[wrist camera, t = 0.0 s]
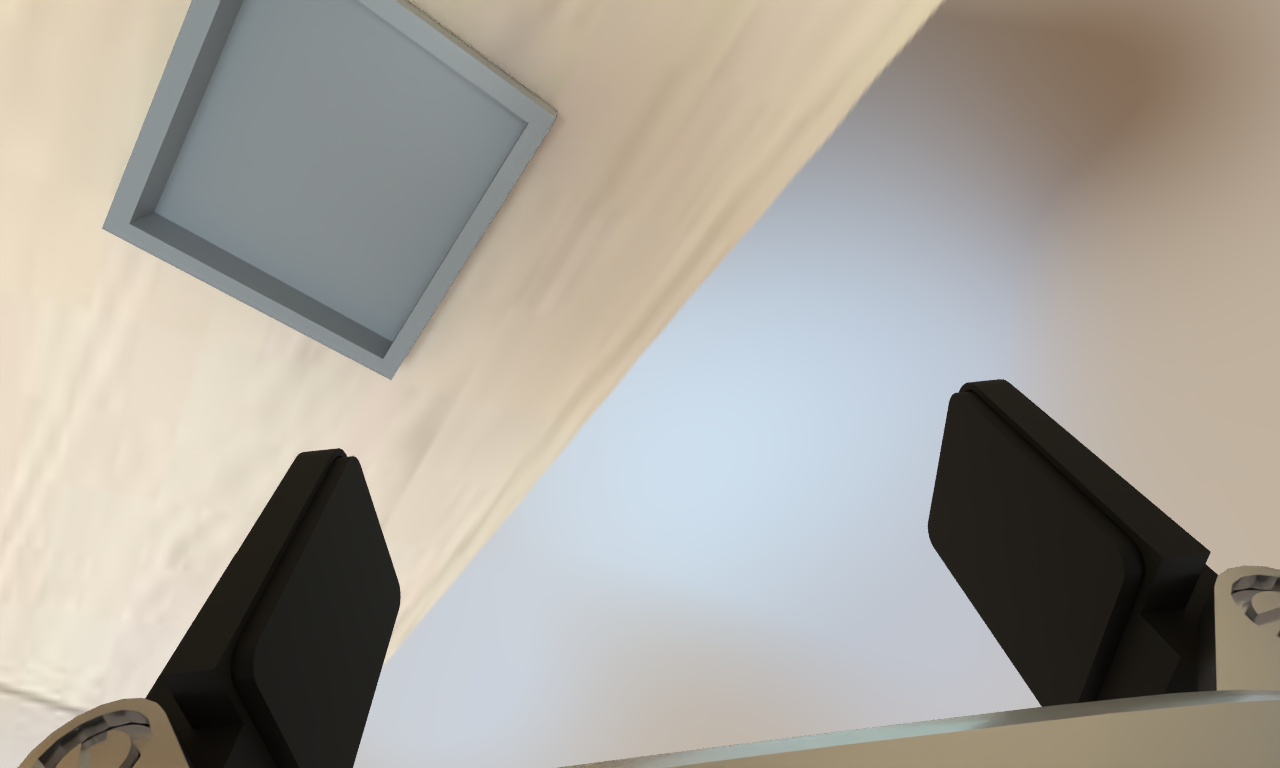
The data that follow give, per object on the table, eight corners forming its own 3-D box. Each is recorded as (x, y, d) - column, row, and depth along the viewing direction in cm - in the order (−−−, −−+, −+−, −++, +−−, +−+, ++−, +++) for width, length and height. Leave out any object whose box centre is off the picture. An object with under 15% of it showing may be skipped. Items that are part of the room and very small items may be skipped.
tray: (265, -105, 32) (237, -116, 29) (557, 110, 37) (556, 118, 34) (134, 213, 38) (101, 228, 35) (401, 357, 43) (390, 379, 40)
